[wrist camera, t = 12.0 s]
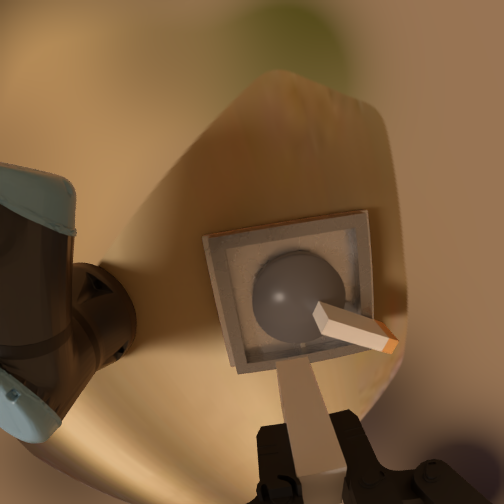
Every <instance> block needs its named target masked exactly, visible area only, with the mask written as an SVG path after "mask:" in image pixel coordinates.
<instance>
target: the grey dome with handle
mask: <svg viewBox="0 0 504 504" xmlns="http://www.w3.org/2000/svg"><path fill="white" fill-rule="evenodd" d="M345 300H346V293H345V287H344V283H343V281H342V279H341V277H340V275H339V274H338V272H337V271H336V270H335V269H334V268H333V267H332V266H331V264H330V263H329V262H327V261H326V260H325V259H324V258H322V257H321V256H318V255H316V254H314V253H310V252H305V251H293V252H288V253H284V254H281V255H279V256H277V257H275V258H274V259H272V260H271V261H269V262H268V263H267V264H266V265H265V266H264V267H263V268H262V269H261V271H260V272H259V274H258V275H257V277H256V279H255V282H254V285H253V290H252V306H253V312H254V316H255V318H256V321H257V322H258V324H259V326H260V327H261V328H262V329H263V330H264V331H265V332H266V333H267V334H268V335H269V336H271V337H273V338H274V339H276V340H279V341H282V342H286V343H306V342H310V341H313V340H315V339H318V338H320V337H321V336H323V335H326V336H329V337H333V338H336V339H340V340H343V341H346V342H350V343H353V344H357V345H360V346H364V347H367V348H371V349H374V350H378V351H382V352H385V353H389V354H392V352H393V351H394V349H395V347H396V345H397V344H398V342H399V340H398V339H397V338H396V337H395V336H394V335H393V334H392V332H391V331H390V330H389V329H388V328H387V327H386V325H385V324H384V323H383V322H380V321H377V320H374V319H371V318H368V317H365V316H362V315H359V314H356V313H353V312H350V311H347V310H344V306H345Z"/></svg>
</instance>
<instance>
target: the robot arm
mask: <svg viewBox="0 0 504 504" xmlns="http://www.w3.org/2000/svg"><path fill="white" fill-rule="evenodd" d="M75 209H76V192H75V189H74V187H73V185H72V184H71V182H70V181H68V180H67V179H66V178H64V177H62V176H59V175H56V174H52V173H48V172H44V171H39V170H36V169H31V168H27V167H22V166H17V165H13V164H8V163H2V162H0V427H1V428H2V429H3V430H5V431H6V432H8V433H9V434H11V435H12V436H14V437H16V438H18V439H20V440H22V441H25V442H29V443H42V442H45V441H46V440H47V439H48V438H49V437H50V436H51V435H52V434H53V433H54V432H55V431H56V430H57V428H59V427H60V426H61V424H62V420H63V419H64V417H65V416H66V414H67V413H68V411H69V410H70V408H71V407H72V405H73V404H74V402H75V401H76V399H77V398H78V397H79V395H80V394H81V392H82V391H83V389H84V388H85V387H86V385H87V384H88V382H89V381H90V379H91V378H92V376H93V375H94V374H95V372H96V371H98V370H100V369H102V368H104V367H106V366H108V365H110V364H112V363H114V362H116V361H117V360H119V359H120V358H121V357H122V356H123V355H124V354H125V353H126V351H127V350H128V349H129V347H130V346H131V344H132V342H133V340H134V337H135V334H136V315H135V311H134V307H133V304H132V302H131V300H130V298H129V296H128V294H127V292H126V291H125V289H124V288H123V287H122V285H121V284H120V283H119V282H118V281H117V280H116V279H115V278H114V277H113V276H112V275H111V274H109V273H108V272H107V271H105V270H104V269H102V268H100V267H98V266H95V265H92V264H88V263H73V250H74V237H75V236H76V233H77V232H76V229H75ZM276 370H277V377H278V385H279V393H280V400H281V407H282V412H283V418H284V423H283V424H276V425H269V426H262V427H261V428H260V430H259V432H258V434H257V436H256V438H257V451H258V465H259V478H260V482H259V483H258V484H257V489H256V492H257V496H256V497H255V498H254V499H253V500H252V501H250V502H249V503H247V504H340V503H342V499H343V502H344V504H492V503H491V502H490V501H488V500H487V499H486V498H485V497H484V496H483V495H482V494H480V493H479V492H478V491H477V490H476V489H475V488H474V487H472V486H471V485H470V484H469V483H468V482H467V481H466V480H464V479H463V478H462V477H461V476H460V475H459V474H458V473H457V472H456V471H455V470H453V469H452V468H451V467H450V466H449V465H448V464H447V463H445V462H443V461H442V460H437V459H432V460H427V461H425V462H422V463H421V464H420V465H419V466H418V467H417V468H416V469H414V470H403V471H393V470H389V469H387V468H385V467H383V466H382V465H381V464H380V463H379V462H378V460H377V458H376V456H375V453H374V451H373V449H372V447H371V444H370V442H369V440H368V438H367V436H366V435H365V432H364V430H363V428H362V425H361V423H360V421H359V418H358V416H357V415H355V414H354V413H353V412H352V411H350V410H349V409H348V410H344V411H340V412H336V413H331V414H328V411H327V408H326V406H325V403H324V400H323V397H322V395H321V392H320V389H319V386H318V384H317V381H316V378H315V375H314V373H313V370H312V367H311V364H310V362H309V359H308V356H307V357H302V358H296V359H290V360H284V361H278V362H276Z"/></svg>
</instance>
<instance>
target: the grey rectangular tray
mask: <svg viewBox="0 0 504 504" xmlns="http://www.w3.org/2000/svg"><path fill="white" fill-rule="evenodd" d="M202 241H203V246H204V251H205V256H206V261H207V265H208V270H209V275H210V280H211V284H212V289H213V293H214V298H215V302H216V307H217V311H218V315H219V320H220V324H221V328H222V332H223V337H224V341H225V345H226V349H227V353H228V357H229V361H230V365H231V367H234V366H236V369H237V374H245V373H252V372H259V371H266V370H273V369H276V362H278V361H284V360H290V359H296V358H302V357H307V356H308V359H309V362H310V363H313V362H318V361H323V360H327V359H332V358H337V357H341V356H346V355H350V354H354V353H359V352H363V351H367V350H371V348H367V347H364V346H360V345H357V344H353V343H350V342H346V341H343V340H340V339H336V338H333V337H329V336H326V335H323V336H321V337H320V338H318V339H315V340H313V341H310V342H306V343H286V342H282V341H279V340H276V339H274V338H273V337H271V336H269V335H268V334H267V333H266V332H265V331H264V330H263V329H262V328H261V327H260V326H259V324H258V322H257V321H256V318H255V316H254V312H253V306H252V290H253V285H254V282H255V279H256V277H257V275H258V274H259V272H260V271H261V269H262V268H263V267H264V266H265V265H266V264H267V263H268V262H269V261H271V260H272V259H274V258H275V257H277V256H279V255H281V254H284V253H288V252H293V251H305V252H310V253H314V254H316V255H318V256H321V257H322V258H324V259H325V260H326V261H327V262H329V263H330V264H331V266H332V267H333V268H334V269H335V270H336V271H337V272H338V274H339V275H340V277H341V279H342V281H343V283H344V287H345V293H346V300H345V306H344V310H347V311H350V312H353V313H356V314H359V315H362V316H365V317H368V318H371V319H374V297H373V271H372V254H371V240H370V228H369V218H368V210H366V209H363V210H356V211H349V212H342V213H336V214H329V215H323V216H316V217H310V218H303V219H297V220H291V221H284V222H278V223H272V224H266V225H260V226H254V227H248V228H242V229H236V230H230V231H224V232H219V233H213V234H207V235H203V236H202Z"/></svg>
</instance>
